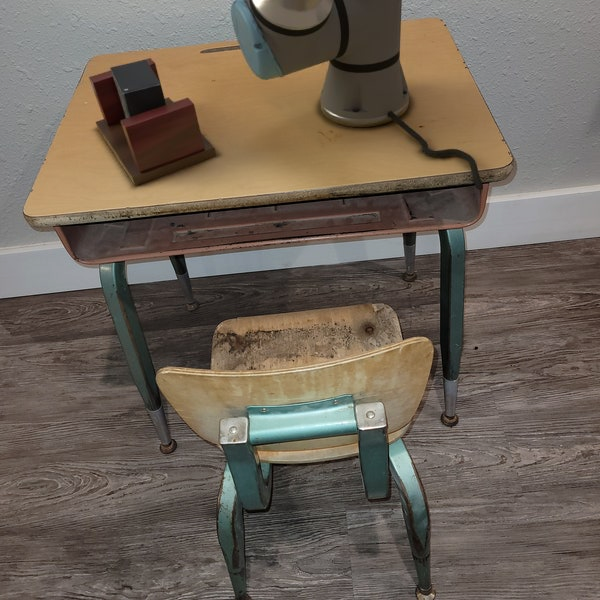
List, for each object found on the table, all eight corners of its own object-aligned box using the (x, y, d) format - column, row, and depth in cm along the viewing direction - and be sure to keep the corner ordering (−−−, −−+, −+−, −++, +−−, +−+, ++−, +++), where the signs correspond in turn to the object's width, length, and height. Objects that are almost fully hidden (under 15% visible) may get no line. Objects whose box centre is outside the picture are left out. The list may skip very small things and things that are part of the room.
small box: (178, 143, 98) (162, 83, 90) (140, 154, 97) (120, 94, 89) (163, 115, 105) (146, 56, 97) (127, 125, 104) (107, 67, 96)
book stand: (216, 155, 97) (204, 101, 90) (135, 186, 93) (116, 132, 86) (170, 104, 110) (157, 54, 104) (98, 129, 107) (79, 78, 100)
